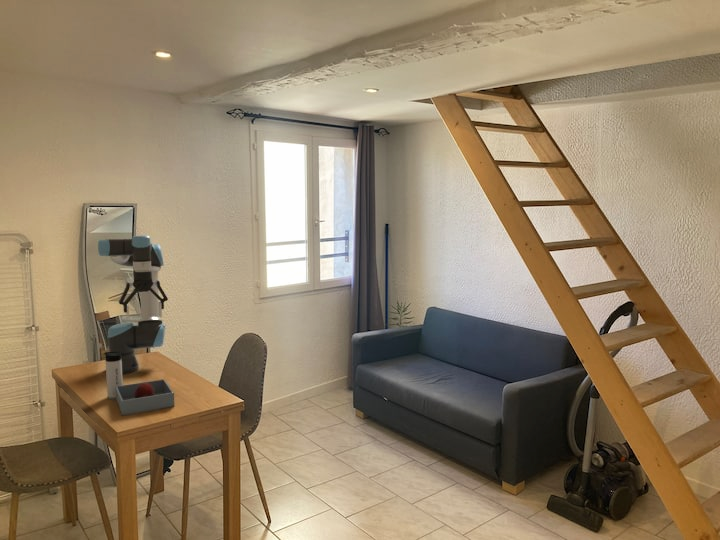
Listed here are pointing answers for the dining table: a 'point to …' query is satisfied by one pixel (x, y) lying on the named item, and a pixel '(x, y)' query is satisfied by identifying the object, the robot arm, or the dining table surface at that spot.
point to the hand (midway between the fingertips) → (144, 318)
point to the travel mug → (113, 373)
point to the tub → (144, 398)
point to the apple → (144, 391)
